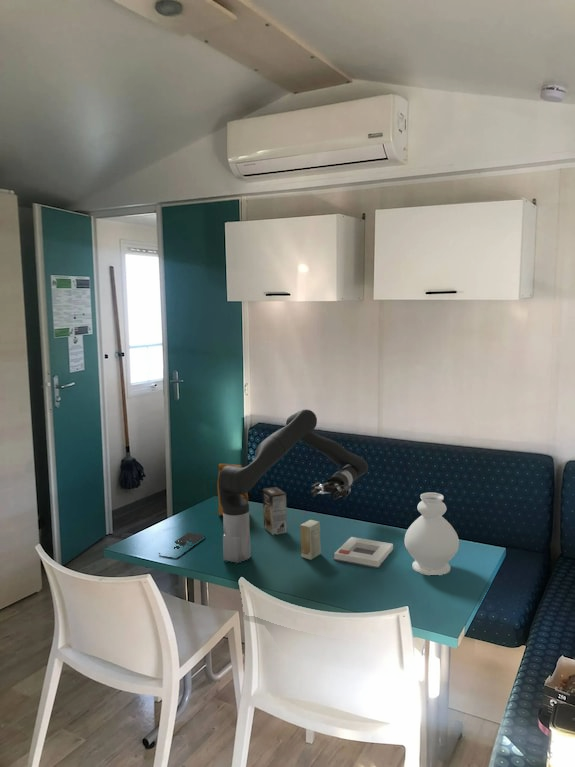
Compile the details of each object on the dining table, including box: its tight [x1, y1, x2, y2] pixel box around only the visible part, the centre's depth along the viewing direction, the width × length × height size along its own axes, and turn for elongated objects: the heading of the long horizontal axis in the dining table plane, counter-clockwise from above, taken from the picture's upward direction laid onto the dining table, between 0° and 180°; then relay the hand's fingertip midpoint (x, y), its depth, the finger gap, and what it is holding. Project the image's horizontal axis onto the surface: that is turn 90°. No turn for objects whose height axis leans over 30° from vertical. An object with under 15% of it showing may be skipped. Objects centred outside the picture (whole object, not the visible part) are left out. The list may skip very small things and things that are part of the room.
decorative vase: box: [404, 491, 460, 576], centre depth 213 cm, size 18×18×25 cm
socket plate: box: [333, 536, 394, 569], centre depth 226 cm, size 16×16×3 cm
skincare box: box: [300, 519, 322, 561], centre depth 226 cm, size 6×4×12 cm
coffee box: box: [262, 486, 288, 536], centre depth 250 cm, size 9×6×16 cm
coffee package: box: [216, 463, 249, 516], centre depth 268 cm, size 10×12×22 cm
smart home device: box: [174, 532, 206, 549], centre depth 238 cm, size 8×2×20 cm
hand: (323, 495), depth 234 cm, fingers open, 8 cm apart
